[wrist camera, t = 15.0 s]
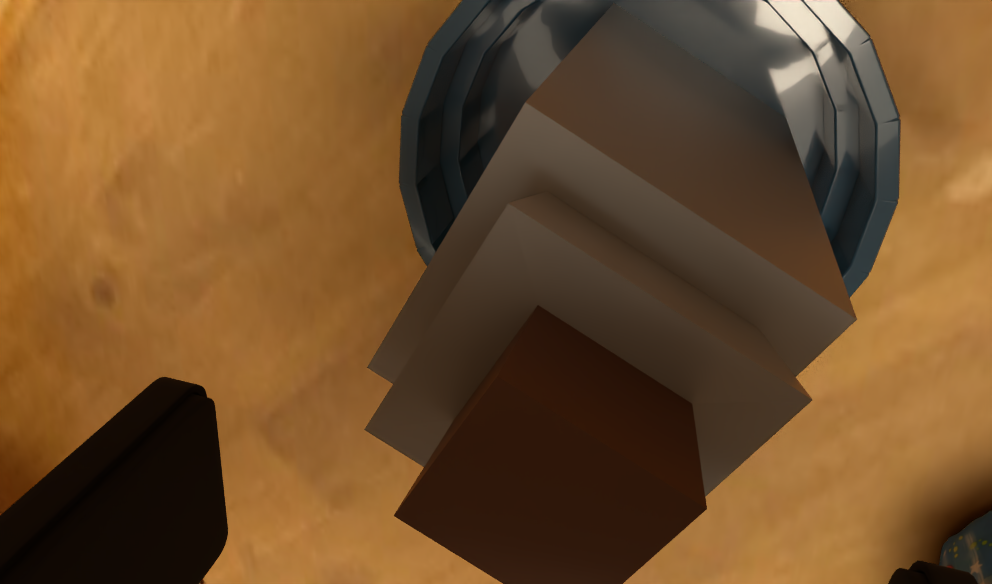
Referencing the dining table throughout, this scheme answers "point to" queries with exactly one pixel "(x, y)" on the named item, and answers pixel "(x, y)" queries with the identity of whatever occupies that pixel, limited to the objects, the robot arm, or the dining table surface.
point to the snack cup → (971, 550)
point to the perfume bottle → (609, 317)
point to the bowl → (705, 35)
